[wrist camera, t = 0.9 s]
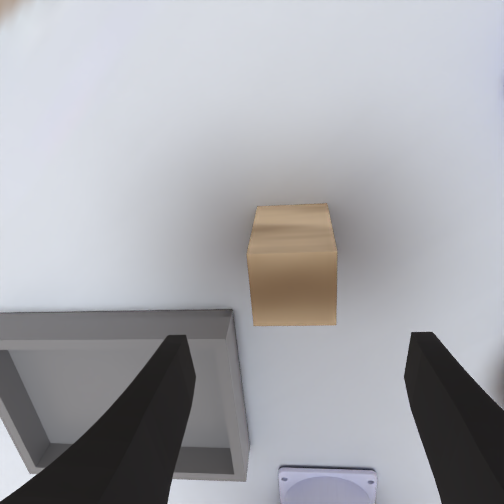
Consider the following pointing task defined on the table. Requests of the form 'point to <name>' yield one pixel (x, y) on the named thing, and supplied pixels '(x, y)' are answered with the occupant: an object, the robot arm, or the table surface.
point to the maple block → (293, 266)
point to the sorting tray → (119, 382)
